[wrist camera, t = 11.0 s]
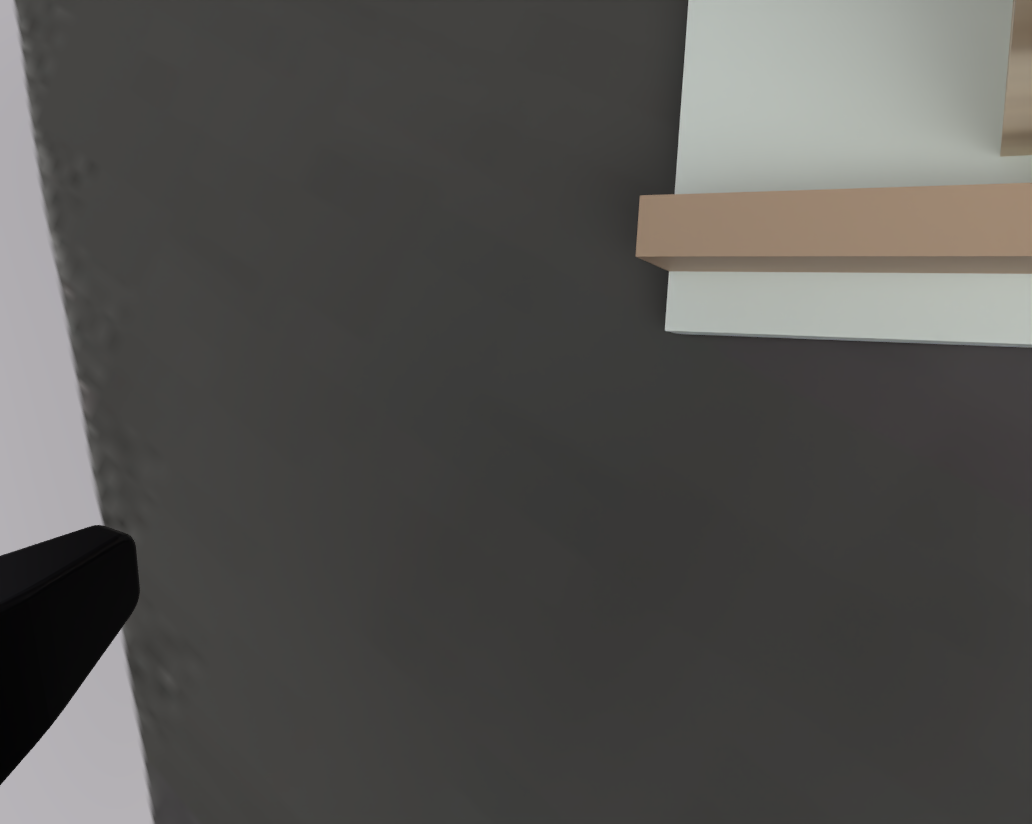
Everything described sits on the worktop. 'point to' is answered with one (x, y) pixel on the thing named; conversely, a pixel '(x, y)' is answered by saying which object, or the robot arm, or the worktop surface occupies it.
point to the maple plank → (1018, 84)
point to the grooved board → (846, 176)
